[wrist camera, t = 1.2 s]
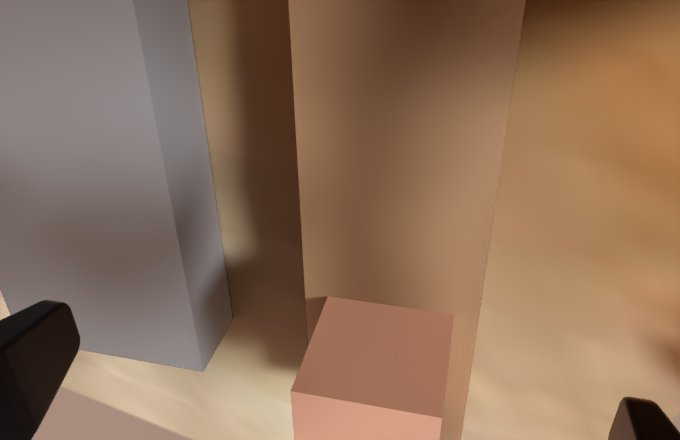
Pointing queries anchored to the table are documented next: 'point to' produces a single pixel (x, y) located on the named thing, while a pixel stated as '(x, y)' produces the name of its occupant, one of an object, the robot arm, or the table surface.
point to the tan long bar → (403, 156)
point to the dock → (110, 177)
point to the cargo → (373, 373)
